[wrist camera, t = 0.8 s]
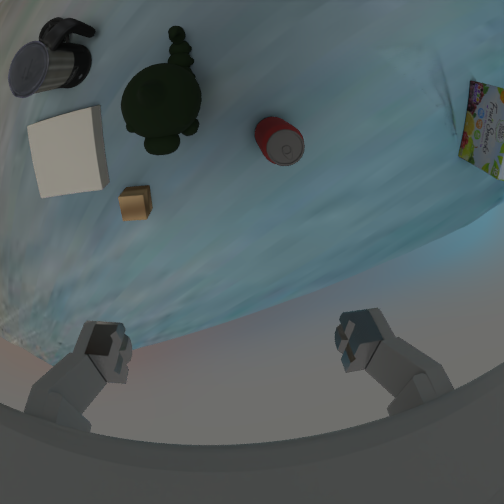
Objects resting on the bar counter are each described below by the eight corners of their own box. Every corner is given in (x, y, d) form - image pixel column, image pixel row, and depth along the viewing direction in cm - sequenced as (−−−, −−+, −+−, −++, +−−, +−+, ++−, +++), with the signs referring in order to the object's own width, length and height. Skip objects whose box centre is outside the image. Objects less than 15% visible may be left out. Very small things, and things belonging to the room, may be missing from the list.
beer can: (263, 155, 49) (274, 176, 39) (248, 125, 45) (254, 137, 36) (295, 141, 48) (314, 158, 38) (281, 110, 44) (297, 118, 34)
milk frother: (81, 93, 37) (37, 102, 25) (28, 80, 32) (-19, 89, 20) (110, 26, 30) (72, 12, 18) (52, 18, 25) (8, 11, 13)
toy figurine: (159, 132, 44) (106, 178, 24) (154, 36, 34) (94, 2, 13) (210, 127, 45) (197, 168, 25) (208, 29, 34) (193, -20, 14)
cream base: (37, 122, 38) (27, 126, 34) (100, 104, 39) (91, 107, 36) (50, 190, 47) (41, 198, 44) (109, 182, 48) (102, 189, 45)
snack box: (468, 79, 38) (514, 90, 26) (480, 86, 39) (524, 99, 27) (457, 156, 50) (498, 180, 38) (469, 160, 51) (508, 183, 39)
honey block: (126, 187, 50) (118, 197, 45) (149, 185, 50) (143, 195, 46) (130, 209, 52) (123, 220, 48) (152, 207, 53) (146, 219, 49)
